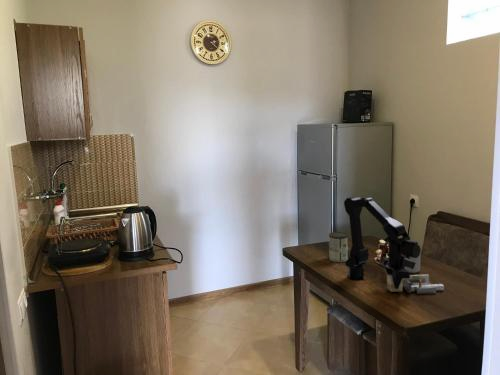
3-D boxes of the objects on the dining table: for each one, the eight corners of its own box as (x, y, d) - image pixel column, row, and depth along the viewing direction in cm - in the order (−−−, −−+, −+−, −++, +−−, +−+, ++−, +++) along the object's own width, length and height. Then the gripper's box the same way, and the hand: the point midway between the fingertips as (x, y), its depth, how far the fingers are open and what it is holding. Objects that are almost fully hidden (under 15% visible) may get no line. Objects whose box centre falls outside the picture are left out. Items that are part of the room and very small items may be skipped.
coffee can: (332, 254, 232) (332, 231, 230) (350, 257, 227) (350, 233, 225) (326, 260, 224) (325, 235, 222) (344, 263, 218) (344, 237, 216)
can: (421, 273, 200) (422, 250, 198) (405, 273, 201) (405, 249, 199) (418, 268, 207) (419, 245, 205) (402, 268, 208) (403, 245, 206)
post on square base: (408, 292, 178) (408, 282, 177) (404, 288, 183) (404, 278, 182) (445, 291, 178) (445, 281, 177) (439, 286, 183) (440, 277, 182)
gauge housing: (407, 294, 177) (407, 283, 176) (399, 285, 186) (399, 275, 185) (437, 292, 177) (437, 282, 176) (427, 284, 186) (428, 274, 185)
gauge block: (390, 291, 177) (391, 278, 177) (386, 287, 182) (387, 274, 181) (402, 291, 178) (402, 278, 177) (398, 286, 182) (398, 273, 182)
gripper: (423, 258, 168) (421, 294, 171) (405, 245, 187) (404, 277, 189) (396, 259, 168) (395, 295, 171) (381, 246, 187) (380, 278, 189)
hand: (394, 286), depth 180 cm, fingers closed on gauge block, 5 cm apart
